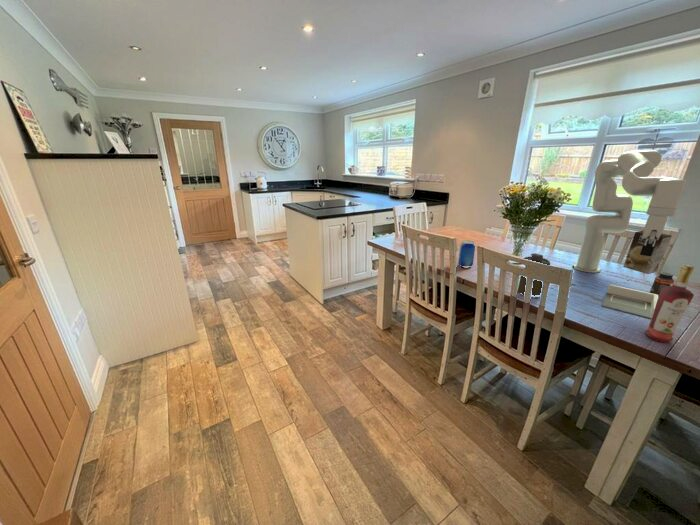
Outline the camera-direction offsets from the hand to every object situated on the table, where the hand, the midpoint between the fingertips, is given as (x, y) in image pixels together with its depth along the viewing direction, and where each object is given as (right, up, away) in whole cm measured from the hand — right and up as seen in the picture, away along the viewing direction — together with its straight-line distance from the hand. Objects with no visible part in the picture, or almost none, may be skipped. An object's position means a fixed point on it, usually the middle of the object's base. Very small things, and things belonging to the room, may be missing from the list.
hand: (645, 252), depth 115 cm
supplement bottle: (+20, -20, +13) cm, 31 cm away
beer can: (-52, -7, +56) cm, 77 cm away
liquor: (-13, -32, -15) cm, 38 cm away
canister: (-36, -20, +20) cm, 45 cm away
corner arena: (-1, -23, +7) cm, 24 cm away
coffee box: (0, -7, +3) cm, 8 cm away
